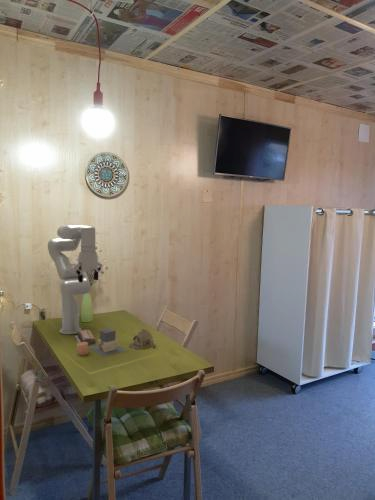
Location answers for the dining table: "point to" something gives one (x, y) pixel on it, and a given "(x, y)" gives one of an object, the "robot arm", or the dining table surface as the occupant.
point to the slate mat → (100, 352)
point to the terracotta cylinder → (82, 348)
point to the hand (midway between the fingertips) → (88, 280)
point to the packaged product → (85, 336)
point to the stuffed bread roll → (142, 340)
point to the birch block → (107, 345)
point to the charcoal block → (107, 334)
